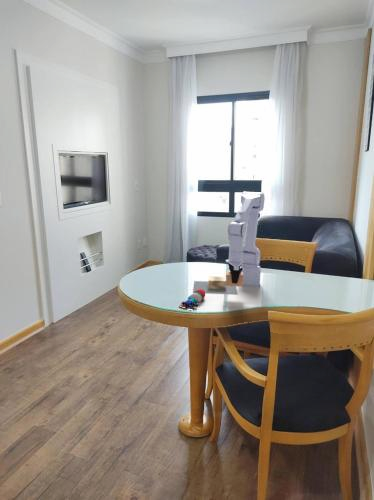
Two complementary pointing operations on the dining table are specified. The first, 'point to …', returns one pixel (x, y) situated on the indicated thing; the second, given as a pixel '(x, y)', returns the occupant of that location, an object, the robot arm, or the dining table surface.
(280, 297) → the dining table surface
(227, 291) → the build plate
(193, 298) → the toy figure
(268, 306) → the dining table surface
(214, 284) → the oak brick
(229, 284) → the terracotta brick
